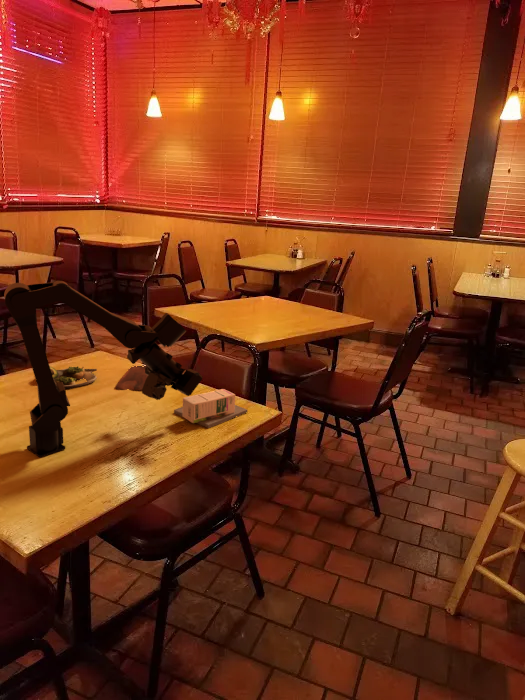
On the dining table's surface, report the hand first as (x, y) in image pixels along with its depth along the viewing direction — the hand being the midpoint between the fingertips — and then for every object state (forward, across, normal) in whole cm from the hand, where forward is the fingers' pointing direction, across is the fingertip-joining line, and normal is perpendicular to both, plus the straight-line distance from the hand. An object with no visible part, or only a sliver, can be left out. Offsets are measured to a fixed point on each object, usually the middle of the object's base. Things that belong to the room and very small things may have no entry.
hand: (190, 391), depth 139 cm
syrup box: (+3, 0, -5) cm, 5 cm away
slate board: (+13, -2, 0) cm, 13 cm away
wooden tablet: (+13, -40, -1) cm, 42 cm away
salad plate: (-2, -50, -16) cm, 53 cm away
